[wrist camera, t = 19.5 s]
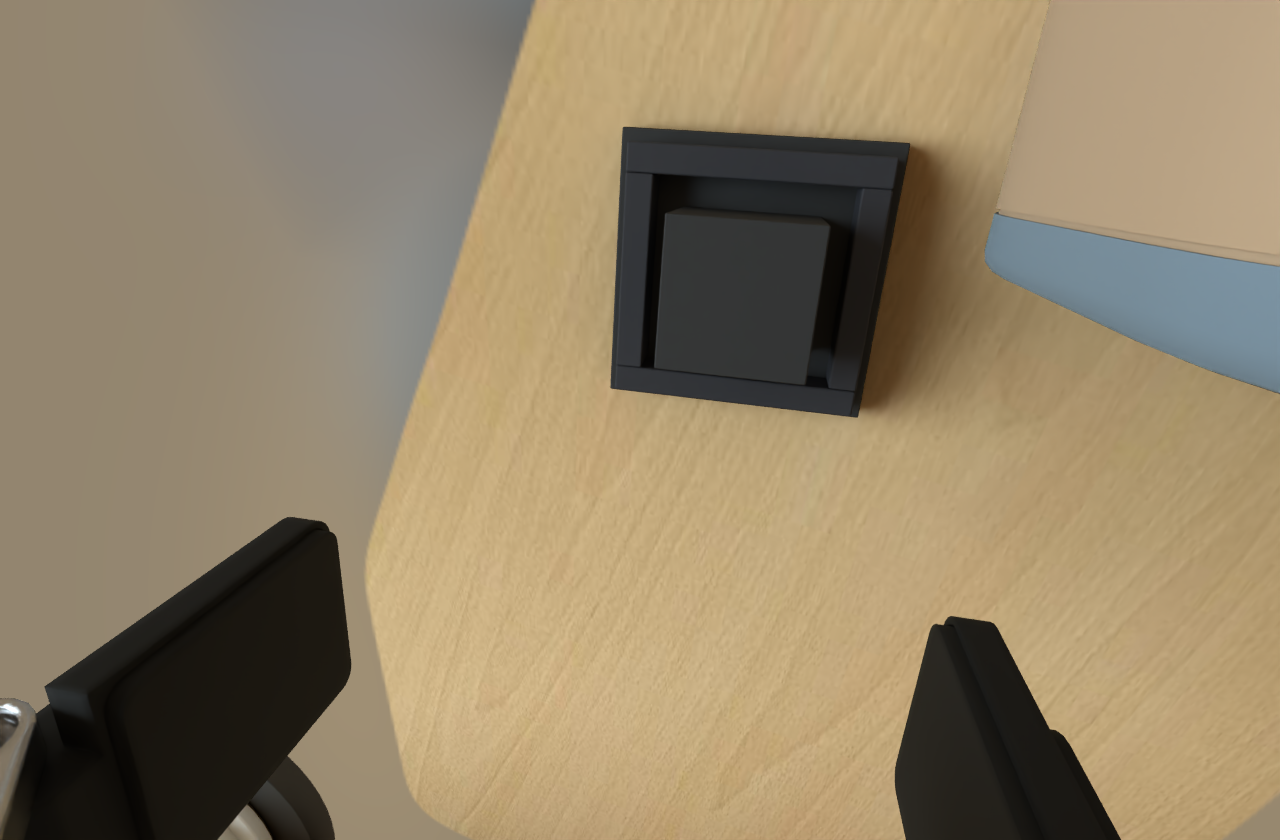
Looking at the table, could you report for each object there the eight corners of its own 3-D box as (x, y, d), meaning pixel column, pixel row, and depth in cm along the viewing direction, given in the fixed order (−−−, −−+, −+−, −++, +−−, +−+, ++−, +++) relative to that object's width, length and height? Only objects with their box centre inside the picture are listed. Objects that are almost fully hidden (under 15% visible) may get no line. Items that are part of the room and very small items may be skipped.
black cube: (672, 337, 26) (653, 368, 22) (683, 206, 25) (665, 212, 20) (800, 351, 26) (805, 385, 22) (821, 216, 24) (831, 225, 20)
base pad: (615, 381, 29) (601, 399, 26) (628, 128, 25) (613, 124, 23) (855, 409, 27) (862, 431, 25) (905, 144, 23) (919, 141, 21)
